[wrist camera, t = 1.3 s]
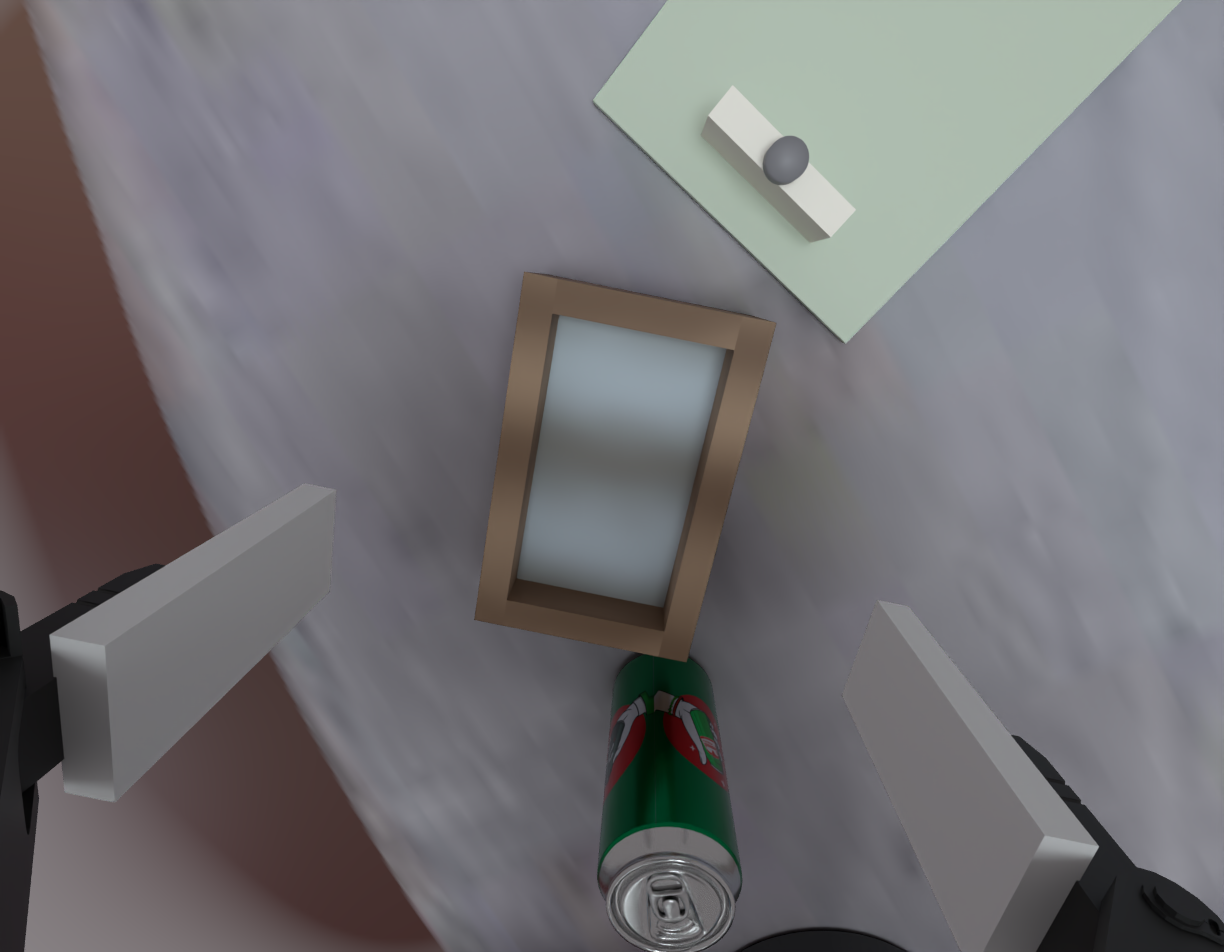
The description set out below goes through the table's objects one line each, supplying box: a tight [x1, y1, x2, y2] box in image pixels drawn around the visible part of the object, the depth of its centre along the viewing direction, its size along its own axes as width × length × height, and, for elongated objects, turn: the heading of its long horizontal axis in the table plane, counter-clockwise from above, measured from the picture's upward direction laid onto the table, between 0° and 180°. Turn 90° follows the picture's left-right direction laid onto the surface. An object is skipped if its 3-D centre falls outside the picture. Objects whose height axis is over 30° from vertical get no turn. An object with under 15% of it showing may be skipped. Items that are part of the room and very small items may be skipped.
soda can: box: [597, 654, 742, 952], centre depth 27 cm, size 5×5×12 cm
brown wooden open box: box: [474, 272, 776, 662], centre depth 26 cm, size 14×9×5 cm, turn 169°
